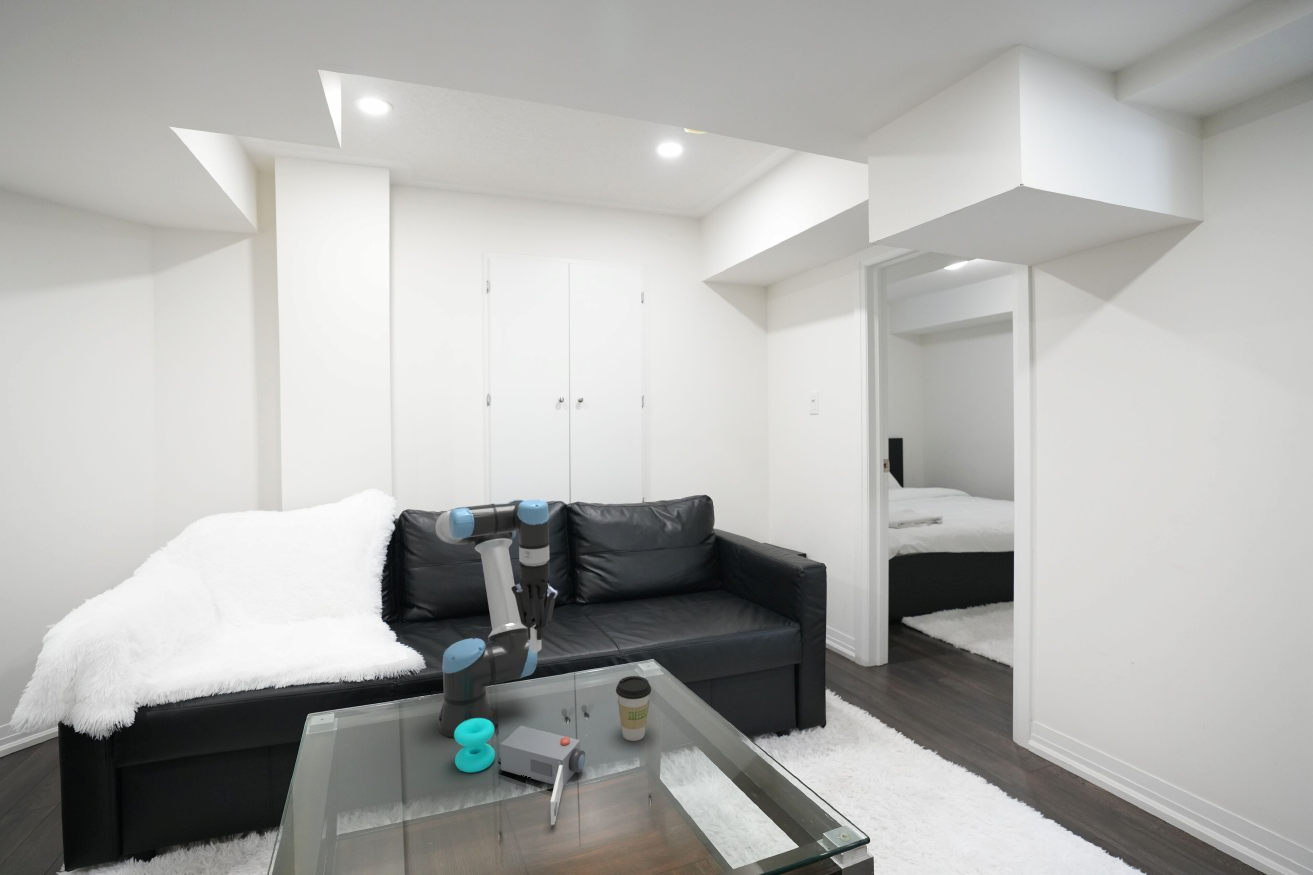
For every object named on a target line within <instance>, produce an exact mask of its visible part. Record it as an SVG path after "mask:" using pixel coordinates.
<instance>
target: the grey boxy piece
mask: <svg viewBox="0 0 1313 875" xmlns="http://www.w3.org/2000/svg"><path fill="white" fill-rule="evenodd" d="M499 745H500V770H501V771H503V772H504V771H505V772H508V773H511V774H515V775H518V776H521V775H522V777H525V776H527V777H526V778H528V777H531V778H530V779H533V780H536V781H539V782H543V783H546V784H550V785H553V786H554V785H555V781H556V777H557V762H558V761H561V765H563V787H565V786H566V784H567V783H568V782H569V781H570V779H572V777H573V776H574V775H575V774H576V773H580V772H581V771H582V770H583V768H584V766H585V762H586V752H585V751H584V750H583V749H581V740H579V739H578V738H577V739H576V738H573V737H569V736H565V735H560V734H557V733H552V732H548V731H544V730H540V729H536V728H533V727H528V726H526V725H525V726H524V725H519V727H518V728H516V729H515V730H514V731H513V732H511V734H510V735H509V736H508V737H507V738H505V739H504V740H503V741H502V742H501V743H500V744H499ZM523 775H524V776H523Z"/></svg>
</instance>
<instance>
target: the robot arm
mask: <svg viewBox="0 0 1313 875" xmlns="http://www.w3.org/2000/svg"><path fill="white" fill-rule="evenodd" d="M435 519H436V520H434V521H435V522H434V525H433V530H434V533H435V536H436V537H437V539H438V540H440V541H441V542H443V543H447V544H451V545H470V544H471V545H472V544H473V545H474V550H475V551H476V552H478V553H479V554H480V558H481V564H482V571H483V577H484V578H483V579H484V582H485V590H486V596H487V603H488V610H489V616H490V623H491V629H492V630H491V632H490V634H488V637H487V638H488V642H485V641H484V640H483V639H481V638H476V637H475V638H473V637H472V638H465V639H461V640H459V641H457V642H455V643H453V644H451V645H449V647H448V648H446V649H445V651H444V653H443V656H442V666H441V669H442V670H441V671H442V676H443V677H442V680H443V681H442V682H443V685H442V686H443V703H442V706H441V710H440V713H439V716H438V719H437V721H438V722H437V724H438V731H439V732H440V734H442V735H443V736H445V737H448V738H453V739H455V738H454V732H455V730H456V728H457V727H458V726H459V725H460V724H461V723H462V722H464V721H466V720H469V719H474V718H484V719H487V720H489V721H491V722H492V723H494V712H493V711H494V710H493V708H492V706H491V705H490V701H489V698H488V695H487V686H491V685H496V684H500V683H504V682H509V681H512V680H520V679H522V678H524V677H528V676H531V675H532V674H533V673H534V672H535V671H536V668H537V663H538V653H539V652H540V651H541V650H542V648H543V647H542V640H543V639H544V636H545V633H544V631H545V630H544V629H545V628H546V627H547V626H549V624H551V621H552V618H553V612H554V607H555V603H556V598H557V597H558V595H559V594H560V591H559V590H558V589H554V588H553V587H552V585H551V582H550V571H551V570H550V562H549V560H550V530H549V529H550V513H549V504H548V502H547V501H545V500H540V499H527V500H524V499H512V500H510V501H509V502H508V503H490V504H481V505H472V506H461V507H456V508H453V509H449V510H446V511H444V512H442V513H441V514H439V515H438V517H437V518H435ZM517 532H518V558H519V559H518V561H519V562H520V563H519V565H518V566H519V578H520V579H519V583H516V584H515V580H514V573H513V567H512V561H511V556H510V551H509V548H510V547H511V545H512V544H513V539H514V538H515V537H516V535H517ZM546 597H547V598H546ZM545 600H546V601H545ZM524 624H525V625H526V626H525V625H524Z"/></svg>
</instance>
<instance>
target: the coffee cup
mask: <svg viewBox="0 0 1313 875" xmlns="http://www.w3.org/2000/svg"><path fill="white" fill-rule="evenodd" d="M615 692H616V695H617V703H618V713H619V719H620V725H621V732H622V734H621V735H622V737H623V739H625V740H627V741H630V742H631V741H632V742H635V741H640V740H642V739H644V737H645V734H646V724H647V722H648V716H649V715H648V714H649V713H648V712H649V706H650V694H651V692H652V686H651V685H650V683H649V680H648V679H647V678H645V677H643V676H638V675H629V676H626V677H623V678H620V680H618V683H617V685H616V688H615Z"/></svg>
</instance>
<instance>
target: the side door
mask: <svg viewBox="0 0 1313 875" xmlns="http://www.w3.org/2000/svg"><path fill="white" fill-rule="evenodd" d="M563 788H564V786H563V765H561V761H558V762H557V777H556V781H555V785H553V790H552V794H551V798H550V825H551V826H555V825H556V824H555V823H556V821H557V817H558V816H557V815H558V811H559V808H560V807H559V806H560V801H561V796H562V792H563Z"/></svg>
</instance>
